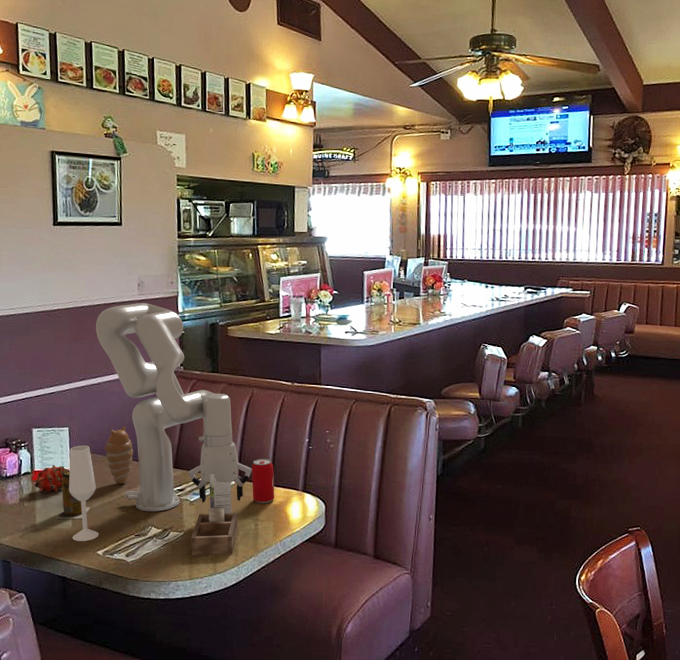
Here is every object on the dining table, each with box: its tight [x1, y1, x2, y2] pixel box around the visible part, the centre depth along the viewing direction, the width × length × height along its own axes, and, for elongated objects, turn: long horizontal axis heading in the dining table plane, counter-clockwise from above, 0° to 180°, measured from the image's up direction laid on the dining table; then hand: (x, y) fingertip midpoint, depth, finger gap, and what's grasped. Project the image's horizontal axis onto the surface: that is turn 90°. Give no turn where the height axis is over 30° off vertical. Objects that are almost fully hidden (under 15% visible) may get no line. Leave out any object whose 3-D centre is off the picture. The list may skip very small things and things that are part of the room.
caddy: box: [190, 507, 239, 556], centre depth 203 cm, size 10×16×7 cm, turn 3°
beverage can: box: [251, 458, 275, 504], centre depth 232 cm, size 6×6×12 cm
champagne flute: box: [69, 445, 99, 542], centre depth 207 cm, size 7×7×24 cm
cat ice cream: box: [104, 426, 134, 485], centre depth 249 cm, size 9×8×18 cm
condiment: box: [55, 469, 91, 520], centre depth 225 cm, size 7×8×12 cm
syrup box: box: [209, 473, 233, 513], centre depth 218 cm, size 6×6×14 cm
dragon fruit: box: [34, 464, 69, 494], centre depth 245 cm, size 8×8×12 cm
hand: (221, 499), depth 218 cm, fingers open, 9 cm apart
